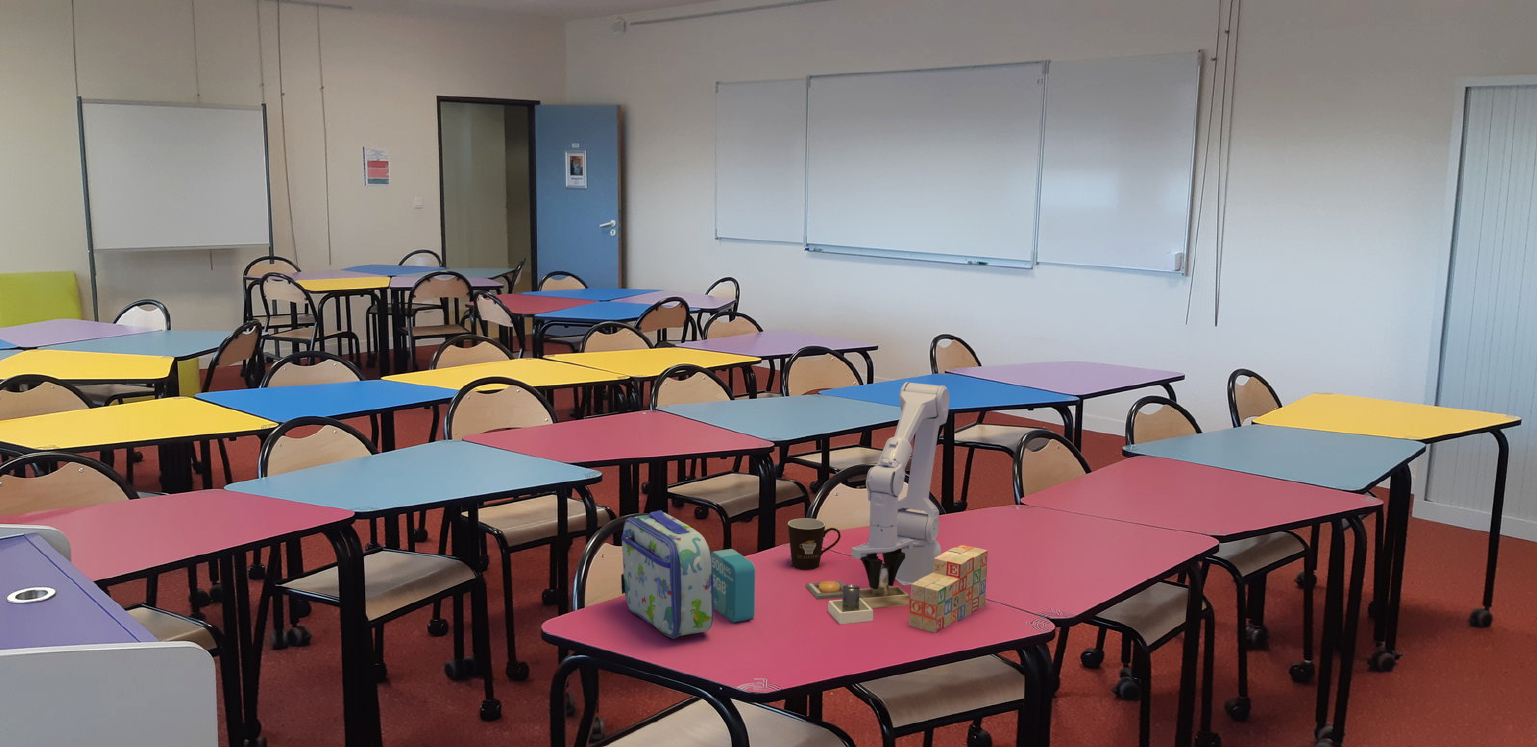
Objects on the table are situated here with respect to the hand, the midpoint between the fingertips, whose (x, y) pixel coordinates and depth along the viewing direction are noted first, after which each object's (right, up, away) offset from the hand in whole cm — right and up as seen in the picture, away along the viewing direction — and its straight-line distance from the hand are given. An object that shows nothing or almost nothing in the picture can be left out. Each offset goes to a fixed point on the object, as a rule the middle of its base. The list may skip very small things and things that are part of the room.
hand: (881, 586), depth 229 cm
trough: (0, -4, +1) cm, 4 cm away
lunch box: (-44, -5, -10) cm, 46 cm away
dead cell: (-7, -5, -8) cm, 11 cm away
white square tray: (-7, -5, -8) cm, 12 cm away
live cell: (0, -2, +1) cm, 2 cm away
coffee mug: (-14, 0, +24) cm, 28 cm away
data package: (-31, -5, -6) cm, 32 cm away
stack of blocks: (+13, -5, -5) cm, 15 cm away
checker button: (-11, -3, +6) cm, 13 cm away
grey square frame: (-11, -3, +6) cm, 13 cm away
